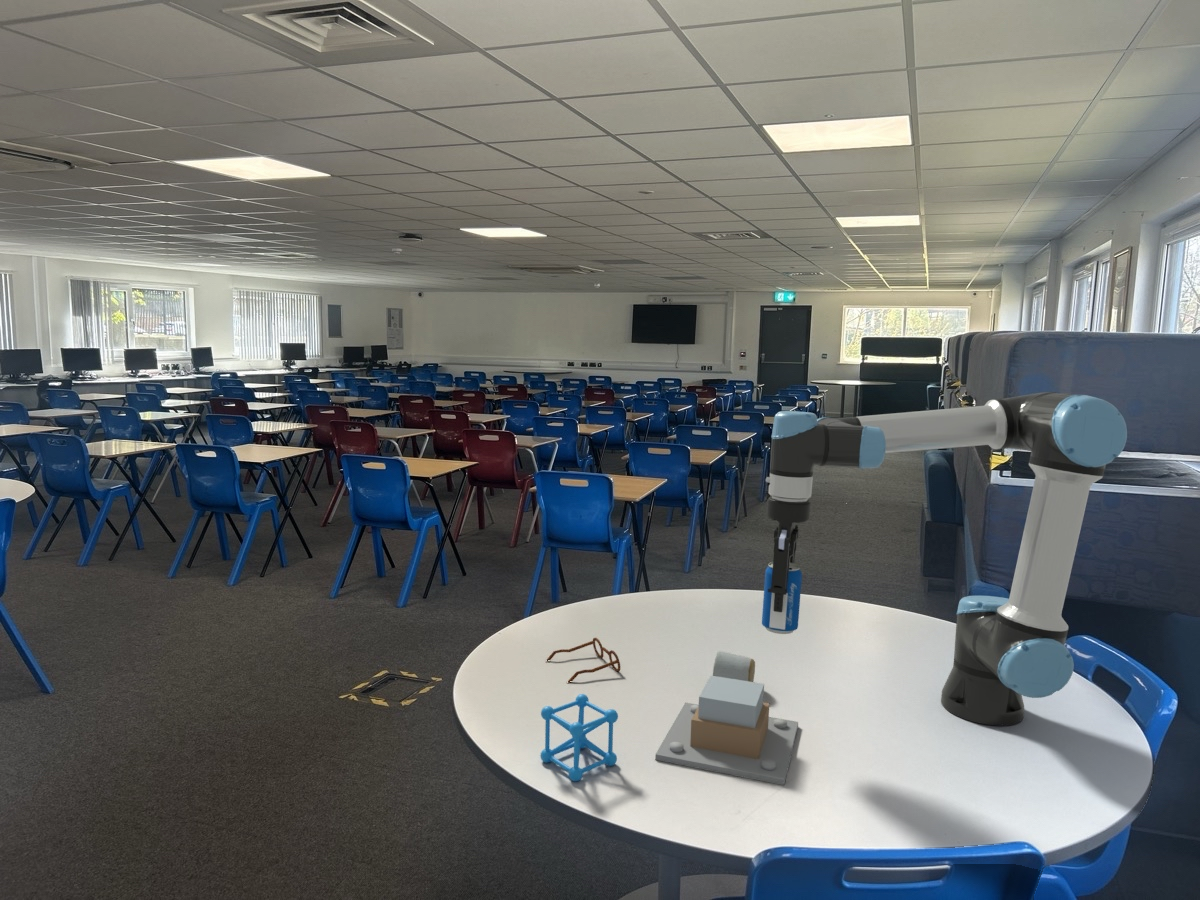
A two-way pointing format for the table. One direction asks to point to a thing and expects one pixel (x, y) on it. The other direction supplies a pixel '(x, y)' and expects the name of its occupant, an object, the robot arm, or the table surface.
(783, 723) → the tower base
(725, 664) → the ceramic mug
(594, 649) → the glasses
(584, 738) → the molecular structure
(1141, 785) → the table surface
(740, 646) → the table surface
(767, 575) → the beverage can
